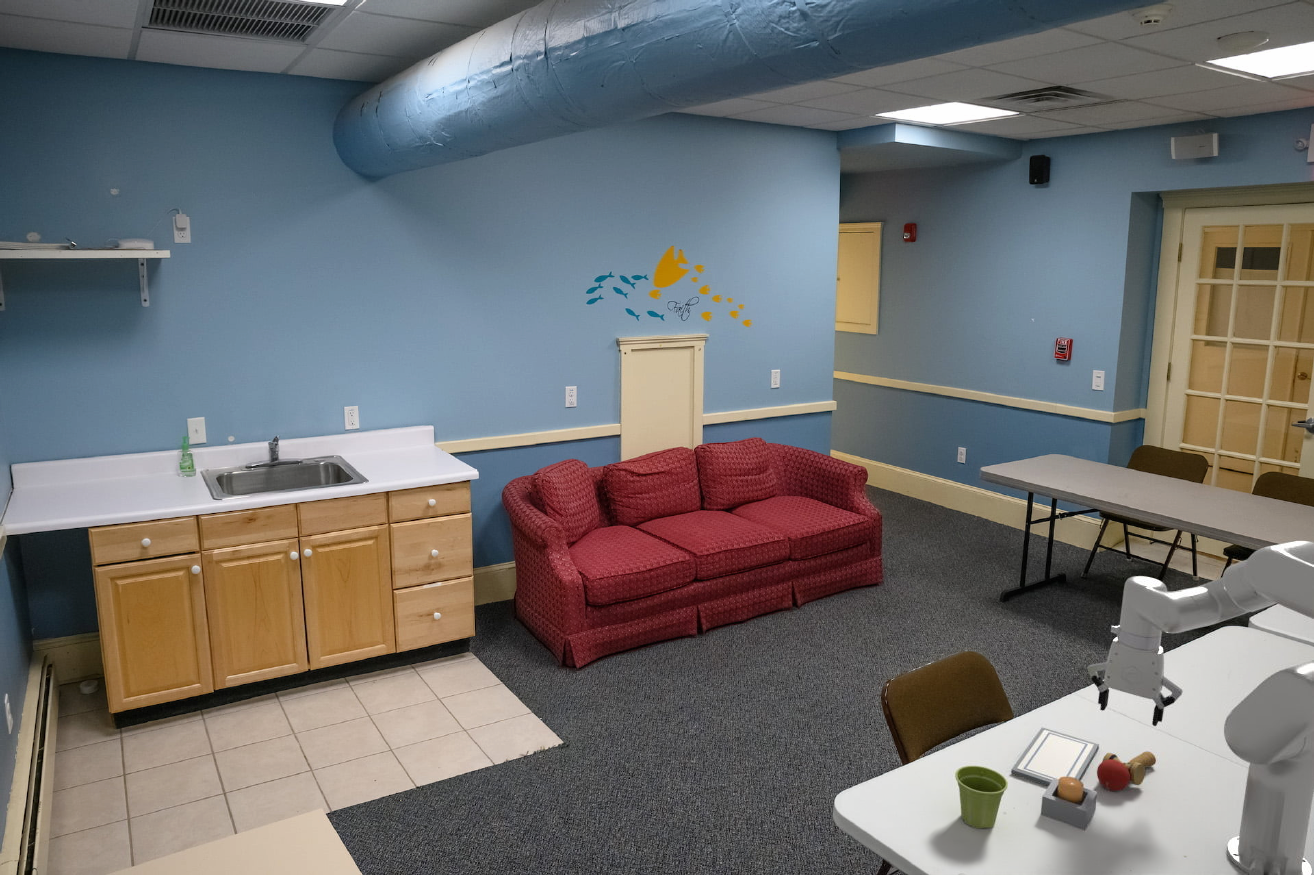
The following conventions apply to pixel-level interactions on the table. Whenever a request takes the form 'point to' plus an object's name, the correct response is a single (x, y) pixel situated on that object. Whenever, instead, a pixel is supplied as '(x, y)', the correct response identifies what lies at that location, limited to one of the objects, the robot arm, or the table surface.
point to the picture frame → (1054, 757)
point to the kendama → (1123, 770)
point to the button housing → (1068, 807)
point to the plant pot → (980, 794)
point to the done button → (1070, 789)
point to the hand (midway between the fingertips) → (1129, 715)
